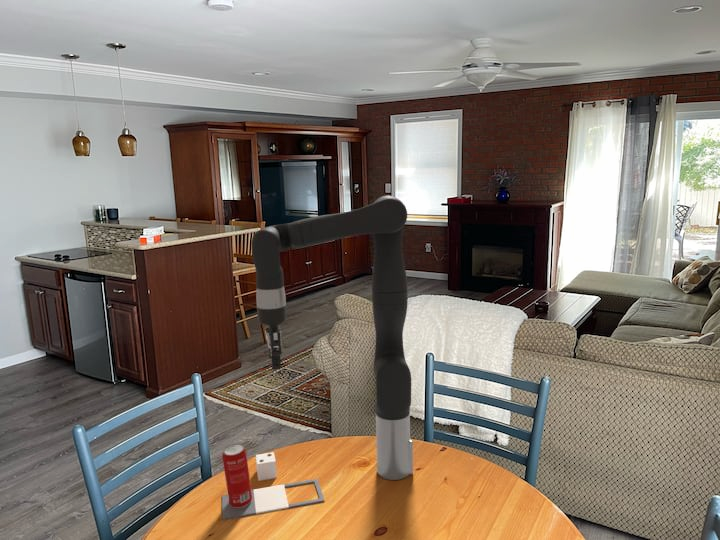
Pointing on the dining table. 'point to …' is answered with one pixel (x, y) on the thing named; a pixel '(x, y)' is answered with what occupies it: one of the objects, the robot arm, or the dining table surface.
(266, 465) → the die
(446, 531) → the dining table surface
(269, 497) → the grey frame tray
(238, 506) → the beverage can
